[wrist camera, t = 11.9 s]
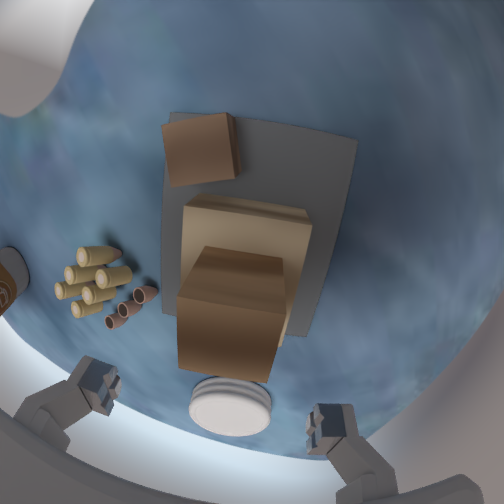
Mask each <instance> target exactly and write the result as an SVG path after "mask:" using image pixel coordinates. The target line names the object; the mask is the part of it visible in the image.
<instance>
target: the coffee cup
mask: <svg viewBox="0 0 504 504" xmlns="http://www.w3.org/2000/svg"><path fill="white" fill-rule="evenodd" d="M28 282H29V273H28V269H27V266H26V264H25V262H24V260H23V258H22V256H21V255H20V254H19V252H18V251H17V250H15V249H14V248H11V247H9V248H8V247H5V248H3V249H1V250H0V316H1V315H2V314H3V313H4V312H5V311H6V310H7V309H8V308H9V307H10V305H11V304H12V303H13V302H14V300H15V299H16V298H17V297H18V296H19V295H20V294H21V293H22V292H23V291H24V290H25V289H26V288H27V285H28Z"/></svg>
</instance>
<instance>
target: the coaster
mask: <svg viewBox="0 0 504 504" xmlns="http://www.w3.org/2000/svg"><path fill="white" fill-rule="evenodd" d="M189 414H190V416H191V418H192V419H193V420H194V421H195V422H196V423H197V424H198V425H200V426H201V427H203V428H204V429H206V430H209V431H211V432H214V433H217V434H221V435H226V436H248V435H252V434H256V433H258V432H260V431H262V430H264V429H265V428H266V427H267V426H268V425H269V423H270V420H271V415H270V414H271V399H270V396H269V394H268V393H267V392H266V391H265V390H264V389H263V388H262V387H260V386H259V385H257V384H255V383H253V382H251V381H245V380H238V379H232V378H226V377H214V378H209V379H206V380H204V381H202V382H200V383H199V384H198V385H197V386H196V387H195V388H194V390H193V395H192V397H191V403H190V404H189Z"/></svg>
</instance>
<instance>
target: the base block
mask: <svg viewBox="0 0 504 504" xmlns="http://www.w3.org/2000/svg"><path fill="white" fill-rule="evenodd" d="M311 230H312V224H311V221H310V219H309V217H308V215H307V213H306V210H305V209H301V208H296V207H290V206H284V205H278V204H272V203H266V202H260V201H254V200H247V199H240V198H234V197H227V196H219V195H212V194H205V193H199V194H198V195H196V196H195V197H194V198H193V199H191V200H190V201H189V202H188V203H187V204H185V205H184V211H183V227H182V247H181V281H180V289H181V287H182V285H183V284H184V282H185V280H186V278H187V276H188V275H189V273H190V271H191V269H192V268H193V266H194V264H195V262H196V260H197V259H198V257H199V255H200V253H201V252H202V250H203V248H204V247H205V246H210V247H216V248H223V249H229V250H235V251H241V252H248V253H254V254H260V255H266V256H273V257H279V258H282V260H283V272H284V285H285V299H286V313H287V315H286V319H285V322H284V326H283V330H282V333H281V337H280V340H279V344H278V347H281V345H282V341H283V338H284V335H285V331H286V328H287V324H288V321H289V317H290V313H291V310H292V306H293V302H294V299H295V295H296V291H297V287H298V284H299V280H300V276H301V272H302V268H303V264H304V260H305V256H306V252H307V247H308V243H309V239H310V235H311Z"/></svg>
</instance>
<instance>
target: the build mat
mask: <svg viewBox="0 0 504 504" xmlns="http://www.w3.org/2000/svg"><path fill="white" fill-rule="evenodd" d="M207 115H210V114H195V113H172V112H170V118H169V123H173V122H177V121H182V120H186V119H191V118H196V117H201V116H207ZM235 122H236V130H237V138H238V146H239V153H240V161H241V169H242V171H241V172H240V173H239V174H238V176H237V177H236V178H235V179H228V180H220V181H212V182H205V183H198V184H191V185H185V186H179V187H173V188H171V184H170V179H169V173H168V167H167V161H166V155H165V167H164V180H163V197H162V220H161V291H162V313H163V314H168V315H172V316H177V294H178V293H179V291H180V281H181V247H182V227H183V211H184V205H185V204H187V203H188V202H189V201H190V200H191V199H193V198H194V197H195V196H196V195H198V194H199V193H205V194H212V195H219V196H227V197H234V198H240V199H247V200H254V201H260V202H266V203H272V204H278V205H284V206H290V207H296V208H301V209H305V210H306V213H307V215H308V217H309V219H310V221H311V224H312V230H311V235H310V239H309V243H308V247H307V252H306V256H305V260H304V264H303V268H302V272H301V276H300V280H299V284H298V287H297V291H296V295H295V299H294V302H293V306H292V310H291V313H290V317H289V321H288V324H287V328H286V331H285V335H293V336H302V337H307V334H308V331H309V328H310V325H311V322H312V319H313V316H314V313H315V310H316V307H317V304H318V301H319V298H320V295H321V291H322V288H323V285H324V281H325V278H326V275H327V271H328V268H329V265H330V261H331V257H332V254H333V250H334V247H335V243H336V239H337V235H338V232H339V228H340V224H341V220H342V216H343V212H344V207H345V203H346V199H347V194H348V190H349V186H350V181H351V176H352V171H353V167H354V162H355V156H356V151H357V146H358V140H355V139H351V138H348V137H344V136H340V135H336V134H331V133H327V132H323V131H318V130H314V129H309V128H304V127H299V126H294V125H288V124H282V123H276V122H270V121H264V120H257V119H249V118H241V117H235Z"/></svg>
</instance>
